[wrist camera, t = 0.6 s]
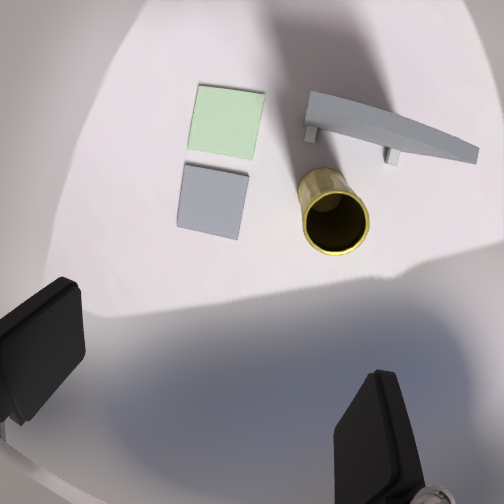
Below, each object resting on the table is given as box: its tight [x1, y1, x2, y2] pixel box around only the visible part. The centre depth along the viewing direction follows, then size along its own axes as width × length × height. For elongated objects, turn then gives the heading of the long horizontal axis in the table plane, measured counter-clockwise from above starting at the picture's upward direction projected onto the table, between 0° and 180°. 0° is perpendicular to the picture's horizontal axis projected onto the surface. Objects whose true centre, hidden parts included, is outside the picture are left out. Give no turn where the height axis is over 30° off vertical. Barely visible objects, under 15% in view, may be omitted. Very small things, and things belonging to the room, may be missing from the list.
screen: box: [304, 91, 479, 166], centre depth 25 cm, size 5×12×18 cm, turn 79°
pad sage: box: [188, 86, 265, 160], centre depth 35 cm, size 8×8×1 cm
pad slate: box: [177, 165, 249, 240], centre depth 39 cm, size 8×8×1 cm
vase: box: [298, 168, 369, 255], centre depth 30 cm, size 6×6×14 cm
